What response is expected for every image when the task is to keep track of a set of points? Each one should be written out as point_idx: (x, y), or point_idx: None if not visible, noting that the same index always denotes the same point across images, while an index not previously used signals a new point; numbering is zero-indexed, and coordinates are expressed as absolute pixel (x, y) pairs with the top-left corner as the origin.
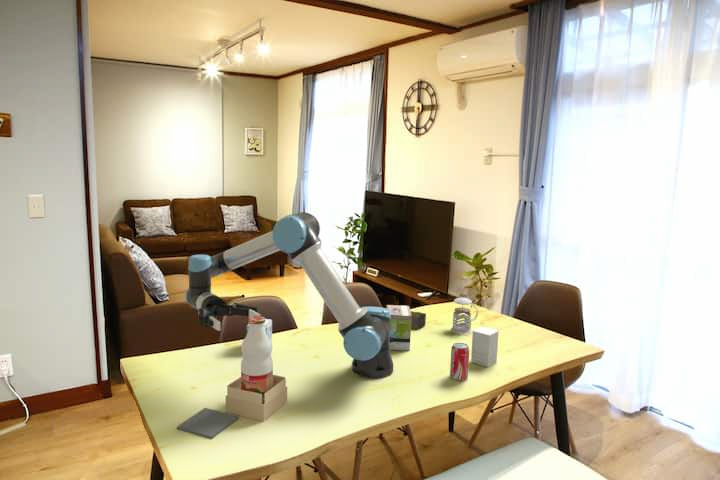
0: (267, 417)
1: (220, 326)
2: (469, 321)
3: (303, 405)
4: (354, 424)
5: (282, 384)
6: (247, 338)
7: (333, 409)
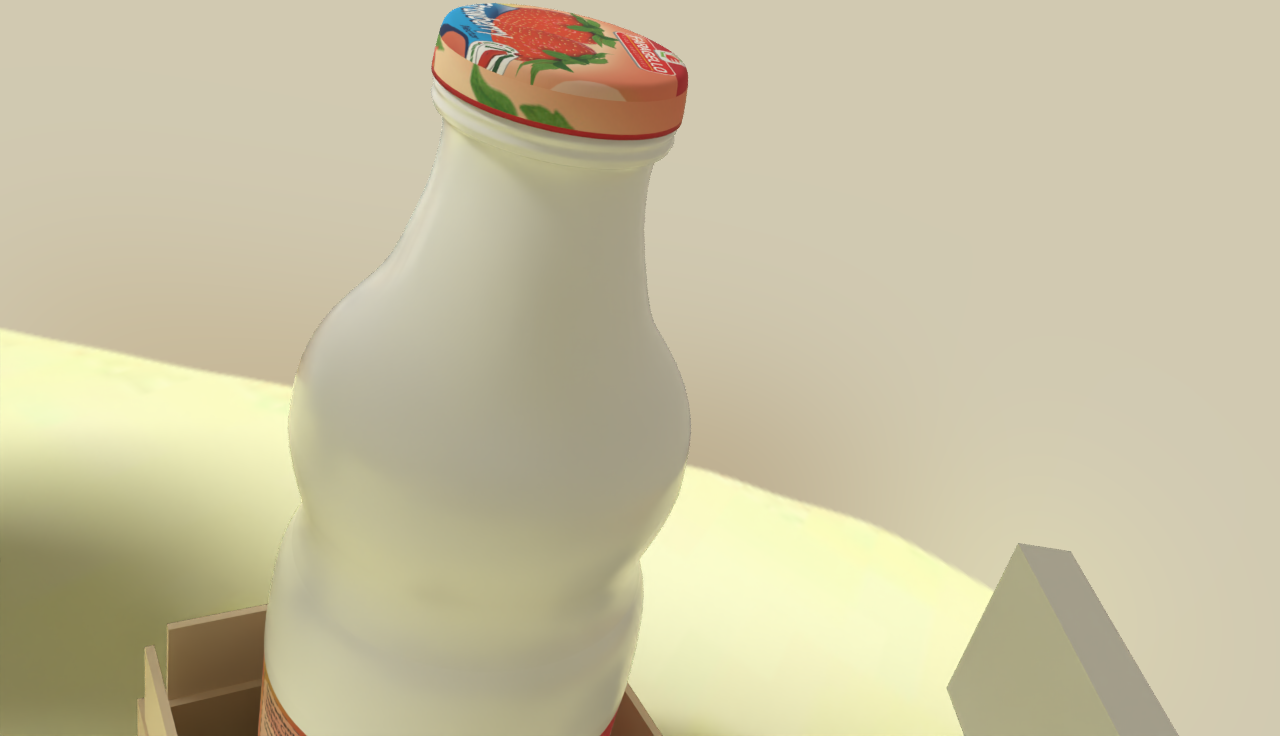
0: None
1: (980, 621)
2: None
3: (106, 680)
4: (133, 388)
5: (235, 635)
6: (653, 325)
7: (28, 523)
